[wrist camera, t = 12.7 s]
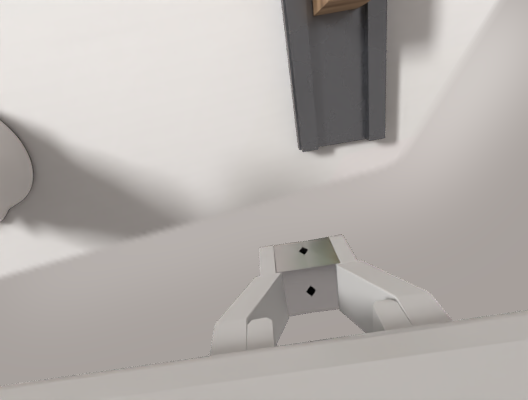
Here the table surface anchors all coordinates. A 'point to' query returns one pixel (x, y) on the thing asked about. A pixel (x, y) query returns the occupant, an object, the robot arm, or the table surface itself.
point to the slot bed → (336, 72)
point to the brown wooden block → (335, 6)
